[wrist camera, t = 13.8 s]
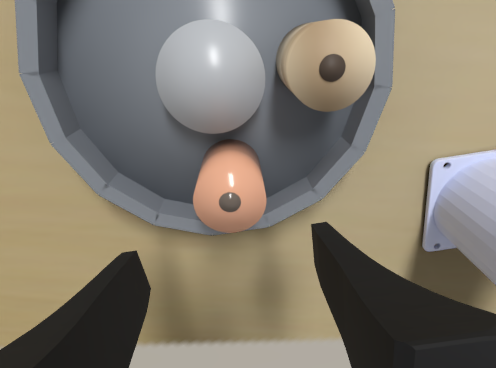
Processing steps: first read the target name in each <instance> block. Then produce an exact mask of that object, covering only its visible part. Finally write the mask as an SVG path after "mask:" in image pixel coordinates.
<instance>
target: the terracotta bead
mask: <svg viewBox="0 0 496 368" xmlns="http://www.w3.org/2000/svg"><path fill="white" fill-rule="evenodd" d="M266 202H267V200H266V193H265V187H264V182H263V177H262V171H261V166H260V161H259V158H258V155H257V153H256V152H255V150H254V149H253V148H252V147H251V146H249V145H248V144H246V143H245V142H242V141H240V140H235V139H227V140H222V141H219V142H217V143H215V144H214V145H212V146H211V147H210V148H209V149H208V150H207V151H206V153H205V155H204V157H203V160H202V164H201V168H200V172H199V176H198V180H197V183H196V187H195V191H194V195H193V205H194V209H195V212H196V214H197V216H198V217H199V219H200V220H201V221H202V222H203V223H204V224H205V225H207V226H208V227H210V228H212V229H214V230H216V231H220V232H225V233H235V232H240V231H243V230H246V229H248V228H250V227H252V226H253V225H254V224H256V223H257V222H258V221H259V220H260V218H261V217H262V215H263V213H264V211H265V208H266Z"/></svg>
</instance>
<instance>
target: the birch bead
mask: <svg viewBox="0 0 496 368" xmlns="http://www.w3.org/2000/svg"><path fill="white" fill-rule="evenodd" d="M375 65H376V55H375V49H374V46H373V43H372V41H371V39H370V37H369V35H368V34H367V33H366V31H365V30H364V29H363V28H361V27H360V26H359V25H357V24H355V23H354V22H351V21H348V20H344V19H330V20H323V21H316V22H310V23H305V24H301V25H299V26H297V27H295V28H293V29H292V30H291V31H289V32H288V33H287V34H286V36H285V37H284V38H283V40H282V41H281V43H280V45H279V47H278V51H277V55H276V67H277V72H278V75H279V77H280V79H281V80H282V82H283V83H284V84H285V85H286V86H287V88H288V89H289V90H290V91H291V92H292V93H293V94H294V95H295V96H296V97H297V98H298V99H299V100H300V101H301V102H302V103H303V104H305V105H306V106H308V107H310V108H312V109H314V110H318V111H323V112H330V111H337V110H340V109H343V108H346V107H347V106H349V105H351V104H352V103H354V102H355V101H356V100H358V99H359V98H360V97H361V96H362V95H363V93H364V92H365V91H366V89H367V88H368V86H369V84H370V82H371V80H372V78H373V75H374V71H375Z"/></svg>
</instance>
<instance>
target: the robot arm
mask: <svg viewBox="0 0 496 368" xmlns="http://www.w3.org/2000/svg"><path fill="white" fill-rule="evenodd" d="M445 163H447V165H446V166H445V167H443V166H444V164H445ZM311 227H312V239H313V251H314V263H315V268H316V271H317V275H318V279H319V282H320V286H321V288H322V291H323V293H324V296H325V298H326V301H327V303H328V305H329V308H330V310H331V313H332V315H333V317H334V320H335V322H336V325H337V327H338V329H339V332H340V334H341V337H342V339H343V342H344V345H345V347H346V351H347V354H348V357H349V360H350V364H351V367H352V368H496V314H494V313H491V312H488V311H485V310H481V309H478V308H475V307H472V306H469V305H466V304H463V303H460V302H457V301H454V300H452V299H449V298H447V297H444V296H442V295H439V294H437V293H434V292H432V291H430V290H427V289H425V288H423V287H421V286H419V285H417V284H415V283H412V282H410V281H408V280H406V279H404V278H403V277H401V276H399V275H397V274H395V273H394V272H392V271H390V270H388V269H387V268H385V267H383V266H382V265H380V264H379V263H377V262H376V261H374V260H373V259H371V258H370V257H368V256H367V255H366V254H364V253H363V252H362V251H360V250H359V249H358V248H356V247H355V246H354V245H353V244H351V243H350V242H349V241H348V240H347V239H345V238H344V237H343V236H342V235H341V234H340V233H339V232H337V231H336V230H335V229H334V228H333V227H332V226H331V225H330V224H328V223H327V222H323V223H316V224H311ZM435 244H437V245H435ZM434 245H435V246H434ZM422 247H423V248H424V249H425V251H427V252H431V251H438V250H445V249H452V248H458V249H459V250H460V251H461V252H462V253H463V254H464V255H465V256H466V257H467V258H468V259H469V260H470V261H471V262H472V263H473V264H474V265H475V266H476V267H477V268H478V269H479V270H480V271H482V272H483V273H484V274H485V275H486V276H487V277H488V278H489V279H490V280H491V281H492V282H493V283H494V284H495V285H496V150H490V151H483V152H477V153H471V154H464V155H458V156H451V157H445V158H439V159H435V160H434V161H432V163H431V165H430V172H429V182H428V192H427V203H426V213H425V223H424V233H423V244H422ZM150 290H151V288H150V285H149V282H148V280H147V277H146V274H145V272H144V269H143V266H142V264H141V261H140V259H139V256H138V253H137V251H131V252H124V253H121V254H120V255H119V256H118V257H116V258H115V259H114V260H113V261H112V262H111V263H110V264H109V265H108V266H107V267H105V268H104V269H103V270H102V271H101V272H100V273H99V274H98V275H97V276H96V277H95V278H94V279H93V280H91V281H90V282H89V283H88V284H87V285H86V286H85V287H84V288H83V289H82V290H80V291H79V292H78V293H77V294H76V295H75V296H73V297H72V298H71V299H70V300H69V301H68V302H66V303H65V304H64V305H63V306H62V307H60V308H59V309H58V310H57V311H55V312H54V313H53V314H52V315H50V316H49V317H48V318H46V319H45V320H44V321H42V322H41V323H40V324H38V325H37V326H36V327H34V328H33V329H31V330H30V331H28V332H27V333H25V334H24V335H22V336H21V337H19V338H18V339H16V340H15V341H13V342H12V343H10V344H9V345H7V346H6V347H4V348H2V349H1V350H0V368H129V365H130V362H131V359H132V356H133V352H134V350H135V347H136V344H137V341H138V338H139V334H140V331H141V328H142V325H143V322H144V319H145V316H146V312H147V308H148V303H149V297H150Z"/></svg>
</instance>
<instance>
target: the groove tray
mask: <svg viewBox="0 0 496 368" xmlns="http://www.w3.org/2000/svg"><path fill="white" fill-rule="evenodd" d="M393 8H395V7H394V4H393V1H392V0H15V11H16V29H17V47H18V64H19V73H23V74H20V77H21V79H22V81H23V83H24V86H25V88H26V90H27V92H28V95H29V97H30V99H31V101H32V104H33V106H34V108H35V111H36V113H37V115H38V117H39V120H40V122H41V124H42V126H43V129H44V131H45V133H46V135H47V138H48V140H49V142H50V143H52V144H51V145H52V146H53V147H54V148H55V149H56V150H57V152H58V153H59V154H60V155H61V156H62V157H63V158H64V159H65V160H66V161H67V162H68V163H69V164H70V165H71V167H72V168H73V169H74V170H75V171H76V172H77V173H78V174H79V175H80V176H81V177H82V178H83V179H84V181H85V182H86V183H87V184H88V185H89V186H90V187H91V188H92V189H93V190H94V191H95V192H96V193H97V194H99V196H101V197H103V198H105V199H106V200H108V201H110V202H112V203H114V204H116V205H117V206H119V207H121V208H123V209H125V210H127V211H128V212H130V213H132V214H134V215H136V216H138V217H140V218H141V219H143V220H145V221H147V222H149V223H151V224H152V225H153V224H154V225H156V226H161V227H167V228H172V229H178V230H183V231H189V232H195V233H200V234H206V235H211V236H212V234H213V235H220V234H226V233H225V232H220V231H216V230H214V229H212V228H210V227H208V226H207V225H205V224H204V223H203V222H202V221H201V220H200V219H199V217H198V216H197V214H196V212H195V209H194V205H193V195H194V191H195V187H196V183H197V180H198V176H199V172H200V168H201V164H202V160H203V157H204V155H205V153H206V151H207V150H208V149H209V148H210V147H211V146H212V145H214V144H215V143H217V142H219V141H222V140H227V139H235V140H240V141H242V142H245V143H246V144H248V145H249V146H251V147H252V148H253V149H254V150H255V152H256V153H257V155H258V158H259V161H260V166H261V171H262V177H263V182H264V187H265V193H266V200H267V202H266V208H265V211H264V213H263V215H262V217H261V218H260V220H259V221H258V222H257V223H256V224H254V225H253V226H252V227H250V228H248V229H246V230H253V229H259V228H266V227H269V226H272V225H274V224H276V223H278V222H280V221H282V220H284V219H286V218H288V217H289V216H291V215H293V214H295V213H297V212H299V211H301V210H303V209H305V208H306V207H308V206H310V205H312V204H314V203H316V202H318V201H320V200H322V199H323V198H324V197H325V196H326V194H327V193H328V192H329V191H330V190H331V189H332V188H333V187H334V186H335V185H336V184H337V182H338V181H339V180H340V179H341V178H342V177H343V176H344V175H345V174H346V173H347V172H348V170H349V169H350V168H351V167H352V166H353V165H354V164H355V163H356V162H357V161H358V160H359V159H360V157H361V156H362V155H363V154H364V152H365V151H366V149H367V147H368V144H369V142H370V139H371V137H372V135H373V132H374V130H375V127H376V125H377V123H378V120H379V118H380V115H381V113H382V111H383V108H384V106H385V103H386V101H387V99H388V96H389V94H390V91H391V89H392V88H390V87H392V77H393V51H394V24H395V9H393ZM392 9H393V10H392ZM330 19H344V20H348V21H351V22H354V23H355V24H357V25H359V26H360V27H361V28H363V29H364V30H365V31H366V33H367V34H368V35H369V37H370V39H371V41H372V43H373V46H374V49H375V55H376V65H375V71H374V75H373V78H372V80H371V82H370V84H369V86H368V88H367V89H366V91H365V92H364V93H363V95H362V96H361V97H360V98H359V99H358V100H356V101H355V102H354V103H352V104H351V105H349V106H347V107H346V108H343V109H340V110H337V111H330V112H323V111H318V110H314V109H312V108H310V107H308V106H306V105H305V104H303V103H302V102H301V101H300V100H299V99H298V98H297V97H296V96H295V95H294V94H293V93H292V92H291V91H290V90H289V89H288V88H287V86H286V85H285V84H284V83H283V82H282V80H281V79H280V77H279V75H278V72H277V67H276V55H277V51H278V47H279V45H280V43H281V41H282V40H283V38H284V37H285V36H286V34H287V33H288V32H289V31H291V30H292V29H293V28H295V27H297V26H299V25H301V24H305V23H310V22H316V21H323V20H330ZM363 151H364V152H363ZM321 198H322V199H321ZM246 230H243V231H246Z"/></svg>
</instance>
